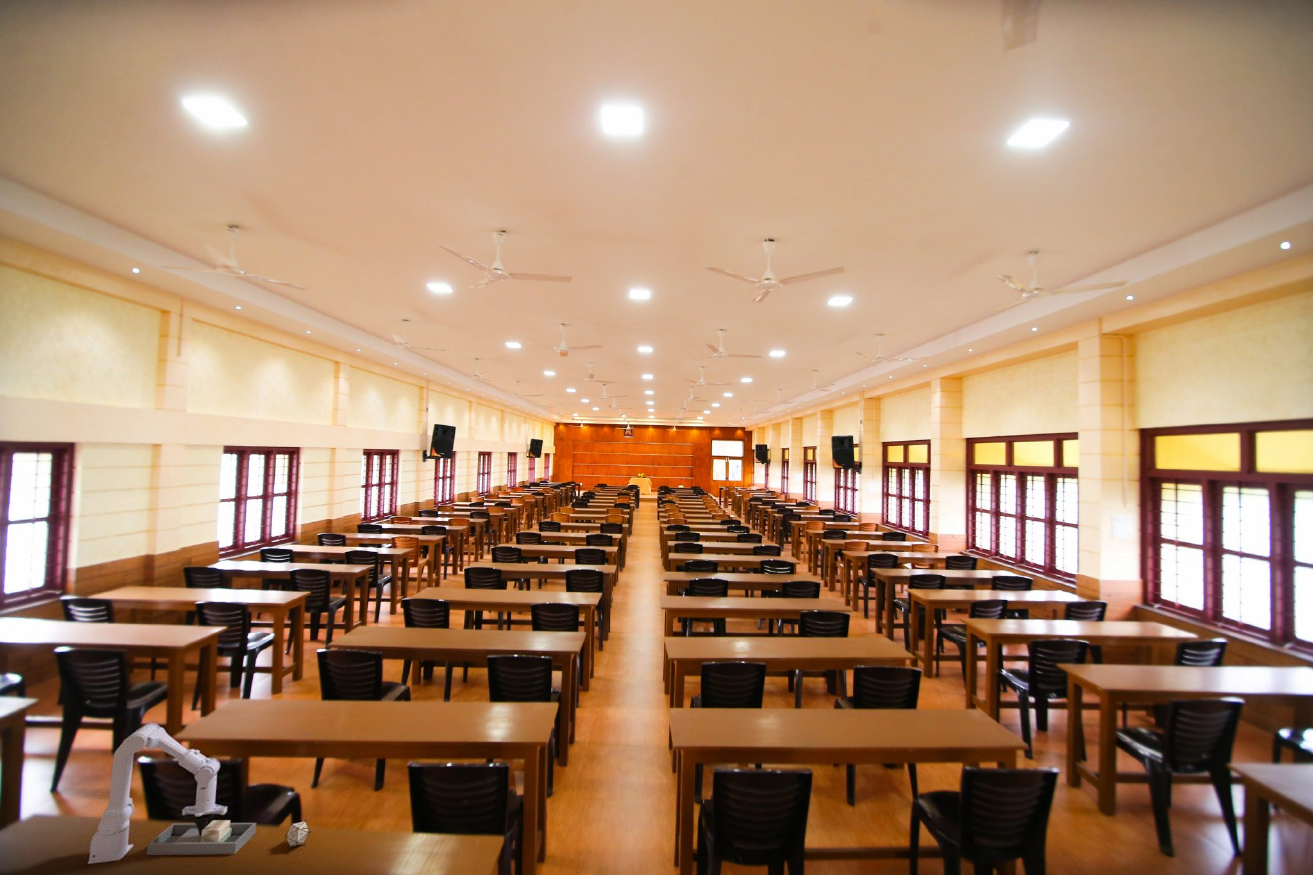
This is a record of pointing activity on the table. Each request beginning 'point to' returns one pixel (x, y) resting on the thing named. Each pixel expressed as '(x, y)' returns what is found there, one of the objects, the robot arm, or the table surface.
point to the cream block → (215, 831)
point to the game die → (297, 833)
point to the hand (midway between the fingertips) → (203, 833)
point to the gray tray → (199, 840)
